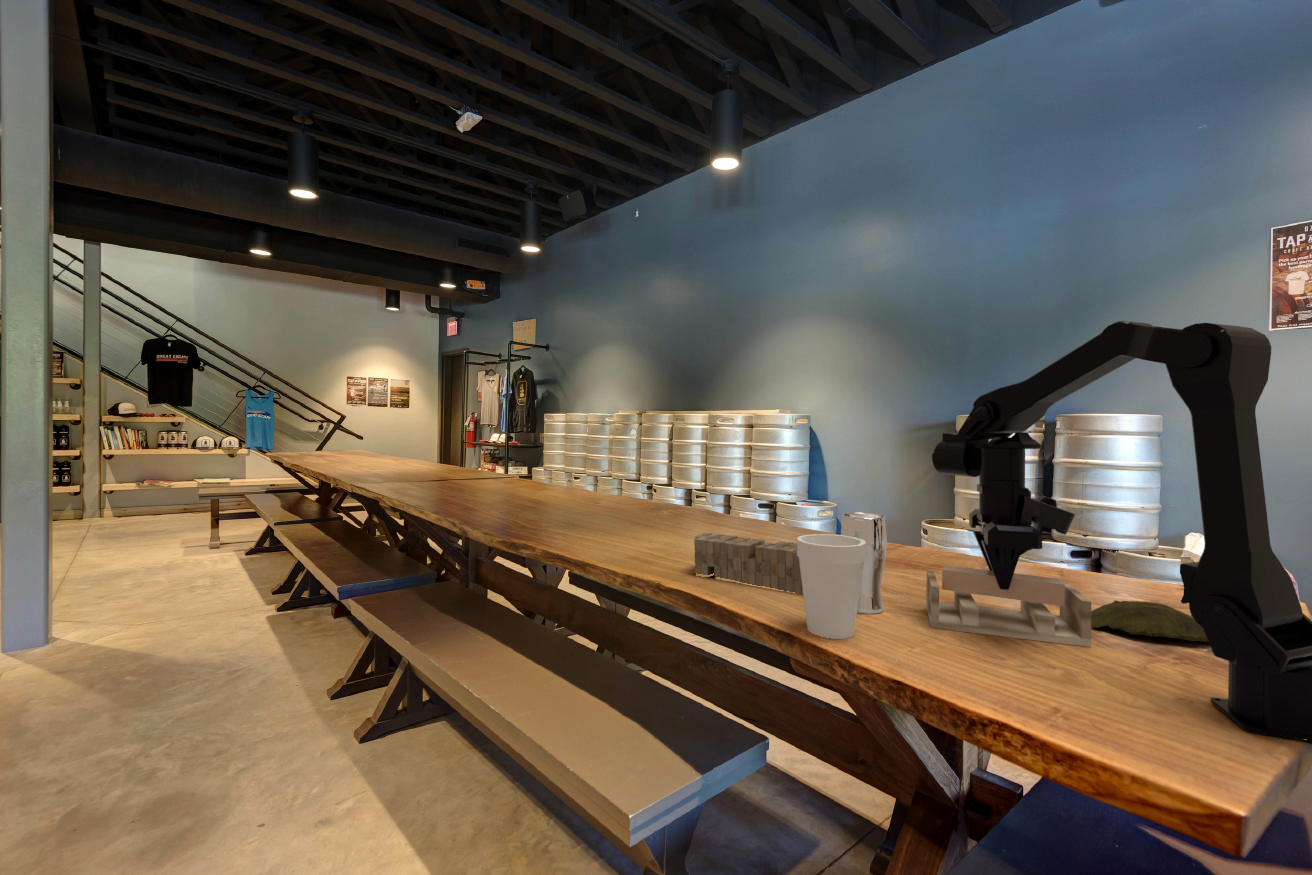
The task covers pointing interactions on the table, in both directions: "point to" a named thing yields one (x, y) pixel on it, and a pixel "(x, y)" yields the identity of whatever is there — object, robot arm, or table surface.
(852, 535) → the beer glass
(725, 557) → the block tower
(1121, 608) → the pottery fragment
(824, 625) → the foam cup
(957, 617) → the drying rack
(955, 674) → the table surface
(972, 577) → the clay strip
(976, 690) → the table surface
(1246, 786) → the table surface
